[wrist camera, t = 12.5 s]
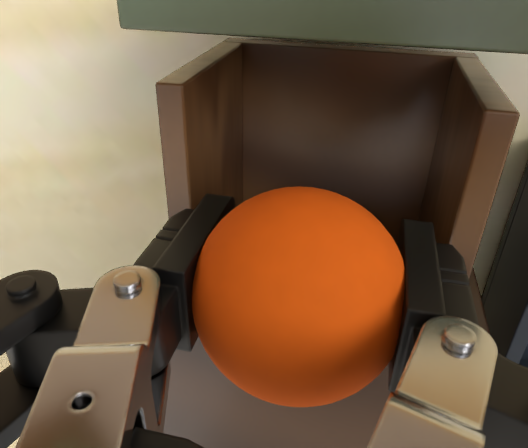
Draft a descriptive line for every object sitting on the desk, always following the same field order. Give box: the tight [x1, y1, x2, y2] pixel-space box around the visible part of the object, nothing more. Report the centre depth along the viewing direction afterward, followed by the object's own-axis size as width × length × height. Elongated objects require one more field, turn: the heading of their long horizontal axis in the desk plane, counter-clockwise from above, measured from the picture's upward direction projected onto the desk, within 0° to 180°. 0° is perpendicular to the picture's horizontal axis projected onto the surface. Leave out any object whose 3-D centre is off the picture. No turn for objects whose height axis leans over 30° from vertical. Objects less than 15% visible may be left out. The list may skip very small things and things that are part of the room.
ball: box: [192, 186, 405, 407], centre depth 11 cm, size 5×5×5 cm
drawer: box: [117, 0, 528, 278], centre depth 16 cm, size 14×10×7 cm
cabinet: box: [163, 268, 491, 448], centre depth 22 cm, size 14×12×9 cm
